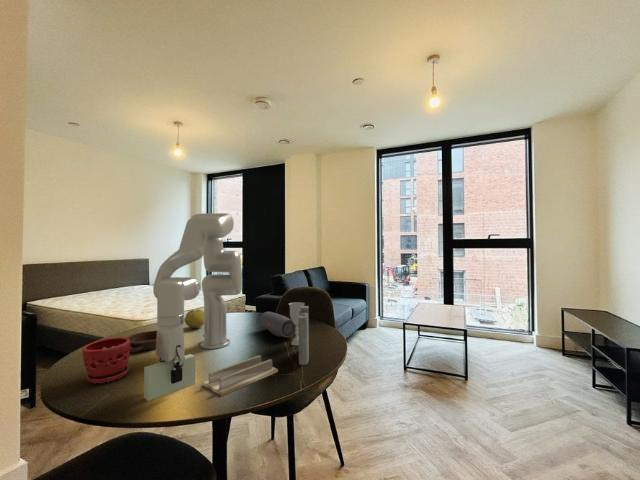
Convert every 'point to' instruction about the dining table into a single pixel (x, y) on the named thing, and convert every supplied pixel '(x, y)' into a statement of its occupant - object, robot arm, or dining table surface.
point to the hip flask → (303, 335)
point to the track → (239, 375)
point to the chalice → (295, 318)
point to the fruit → (195, 318)
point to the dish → (143, 341)
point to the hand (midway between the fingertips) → (170, 377)
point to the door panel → (167, 378)
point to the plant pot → (106, 359)
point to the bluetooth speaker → (278, 324)
